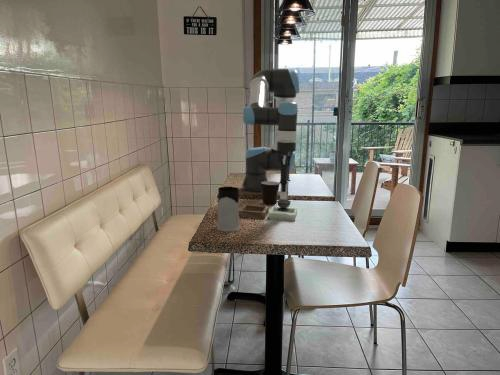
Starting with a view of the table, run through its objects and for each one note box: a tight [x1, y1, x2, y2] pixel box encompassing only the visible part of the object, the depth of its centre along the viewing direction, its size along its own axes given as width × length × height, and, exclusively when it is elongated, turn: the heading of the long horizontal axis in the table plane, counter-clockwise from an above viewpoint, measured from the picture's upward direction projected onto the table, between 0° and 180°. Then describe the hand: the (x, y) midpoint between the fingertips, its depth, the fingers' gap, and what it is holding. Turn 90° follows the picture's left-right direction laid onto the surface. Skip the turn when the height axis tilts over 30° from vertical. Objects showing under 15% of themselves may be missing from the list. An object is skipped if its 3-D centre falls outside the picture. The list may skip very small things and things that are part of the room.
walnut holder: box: [239, 204, 270, 219], centre depth 161 cm, size 11×11×2 cm
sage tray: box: [268, 206, 298, 222], centre depth 158 cm, size 11×11×2 cm
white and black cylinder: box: [216, 186, 240, 232], centre depth 143 cm, size 9×14×15 cm, turn 172°
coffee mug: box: [261, 180, 280, 206], centre depth 180 cm, size 12×9×10 cm
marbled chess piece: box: [277, 184, 292, 211], centre depth 157 cm, size 6×6×12 cm
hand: (284, 197), depth 157 cm, fingers closed on marbled chess piece, 4 cm apart
